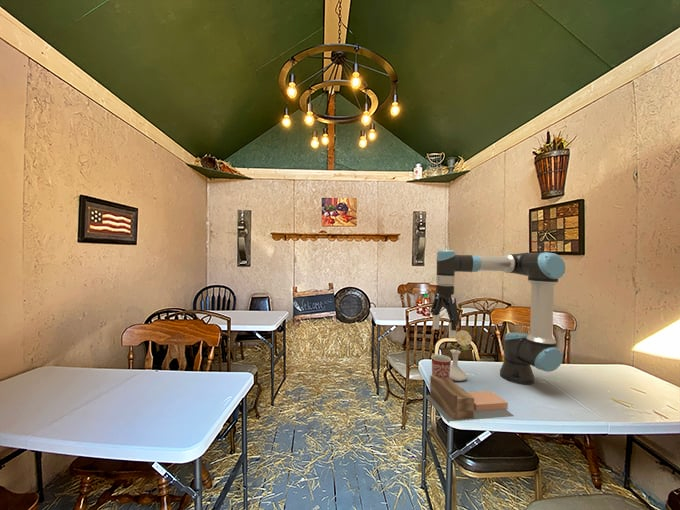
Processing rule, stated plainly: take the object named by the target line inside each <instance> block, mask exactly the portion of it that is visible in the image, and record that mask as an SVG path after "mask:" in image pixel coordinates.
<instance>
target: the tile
mask: <svg viewBox="0 0 680 510" xmlns="http://www.w3.org/2000/svg"><path fill="white" fill-rule="evenodd" d="M466 392H467V391H466ZM467 393H469V394H470V395H471V396H472V397H474V410H475V411H487V410H500V409H506V410H508V401H506V400H505V399H504V398H502V397H500V396H499V395H498V394H496V393H494V392H493V391H492V390H486V391H485V390H484V391H469V392H467Z"/></svg>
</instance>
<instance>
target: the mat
mask: <svg viewBox="0 0 680 510" xmlns="http://www.w3.org/2000/svg"><path fill="white" fill-rule="evenodd" d="M423 397H424V398H425V399H426V400H427V401H428V402H429V403H430V405H432V406H433V408H434V409H435V410H437V412H438V414H440V415H441V416H442V417H443V419H444V420H446V422H448V423H450V422H457V421H458V422H459V421H461V422H462V421H472V420H484V419H485V420H486V419H495V418H509V417H515V414H513V413H511V412H510V411H508V409H500V410H487V411H475V410H474V418H464V419H452V418H451V417H450V416H449V415H448V414H447V413H446V412H445V411H444V410H443V409H442V408H441V407H440V406H439V405H438V404H437V403H436V402H435V401H434V399H433V398H432V397H431V396H430V394H424V395H423Z"/></svg>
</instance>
